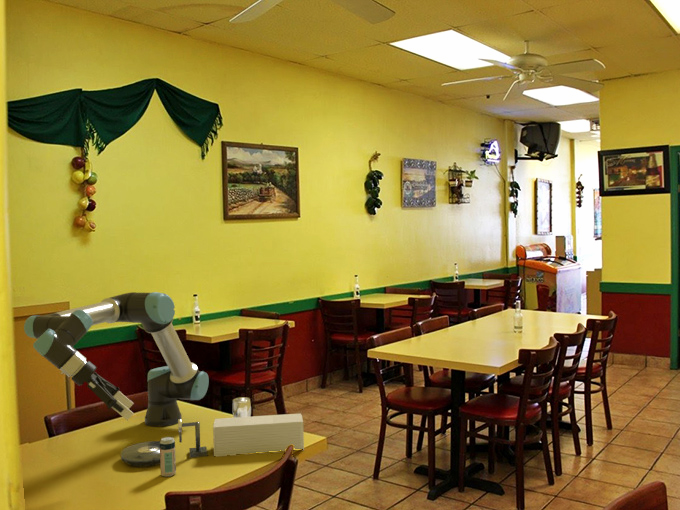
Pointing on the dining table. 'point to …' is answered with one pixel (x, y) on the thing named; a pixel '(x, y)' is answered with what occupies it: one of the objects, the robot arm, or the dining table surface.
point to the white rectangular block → (257, 434)
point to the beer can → (167, 456)
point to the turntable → (142, 453)
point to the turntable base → (145, 464)
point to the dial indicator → (198, 450)
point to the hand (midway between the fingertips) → (130, 411)
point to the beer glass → (241, 407)
